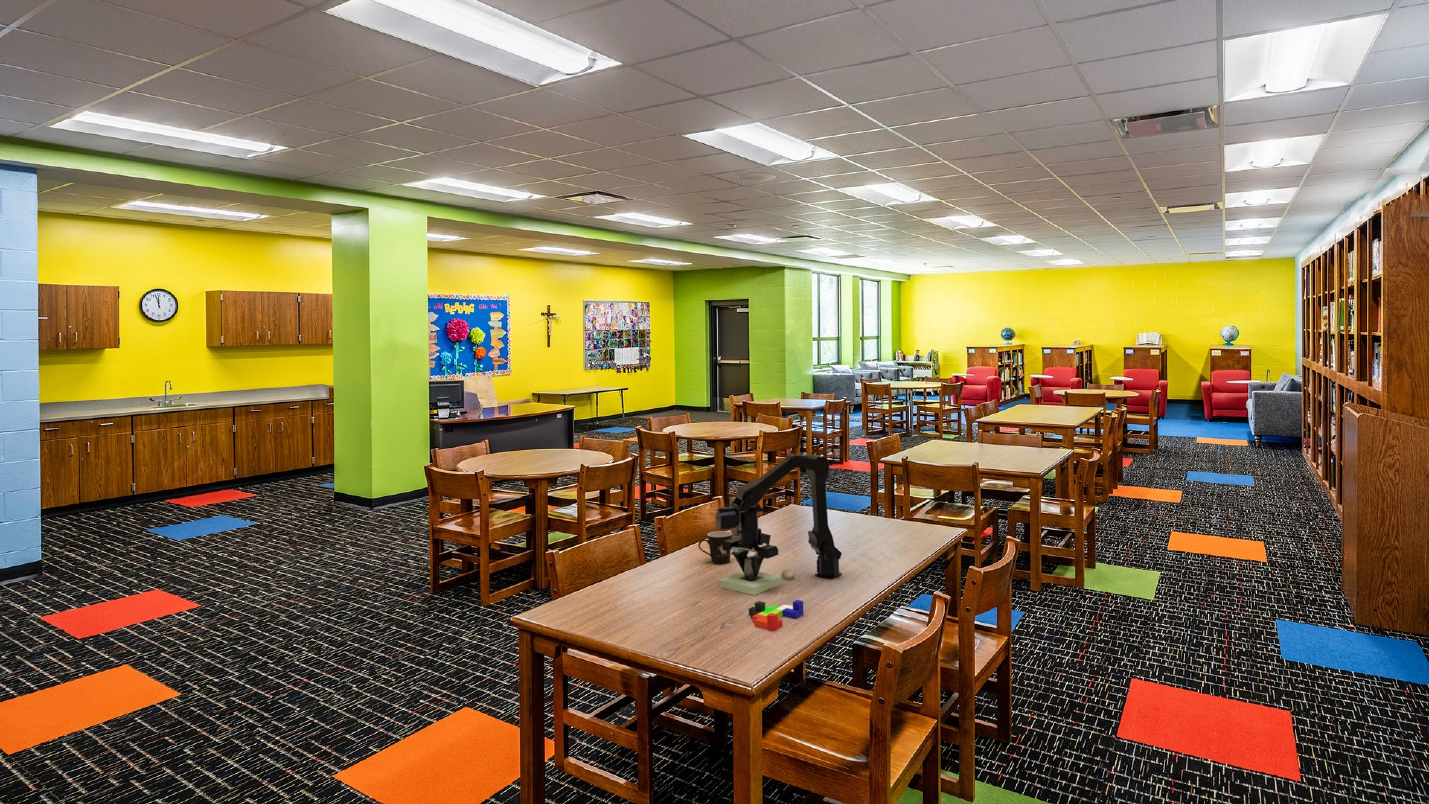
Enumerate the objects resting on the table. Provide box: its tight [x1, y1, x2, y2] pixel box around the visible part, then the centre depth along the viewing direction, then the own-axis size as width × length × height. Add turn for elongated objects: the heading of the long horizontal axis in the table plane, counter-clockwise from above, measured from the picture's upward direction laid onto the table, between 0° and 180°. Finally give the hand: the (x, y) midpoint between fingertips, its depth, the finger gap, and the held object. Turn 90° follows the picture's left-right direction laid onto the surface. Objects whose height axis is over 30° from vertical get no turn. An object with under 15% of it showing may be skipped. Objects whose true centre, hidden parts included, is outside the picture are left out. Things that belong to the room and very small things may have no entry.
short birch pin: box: [781, 568, 795, 581], centre depth 254 cm, size 4×4×2 cm
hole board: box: [719, 570, 783, 596], centre depth 247 cm, size 14×14×2 cm
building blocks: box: [748, 599, 804, 632], centre depth 218 cm, size 15×13×4 cm
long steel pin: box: [744, 555, 757, 582], centre depth 247 cm, size 4×4×7 cm
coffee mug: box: [697, 530, 732, 565], centre depth 275 cm, size 12×9×10 cm
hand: (750, 574), depth 247 cm, fingers closed on long steel pin, 4 cm apart
